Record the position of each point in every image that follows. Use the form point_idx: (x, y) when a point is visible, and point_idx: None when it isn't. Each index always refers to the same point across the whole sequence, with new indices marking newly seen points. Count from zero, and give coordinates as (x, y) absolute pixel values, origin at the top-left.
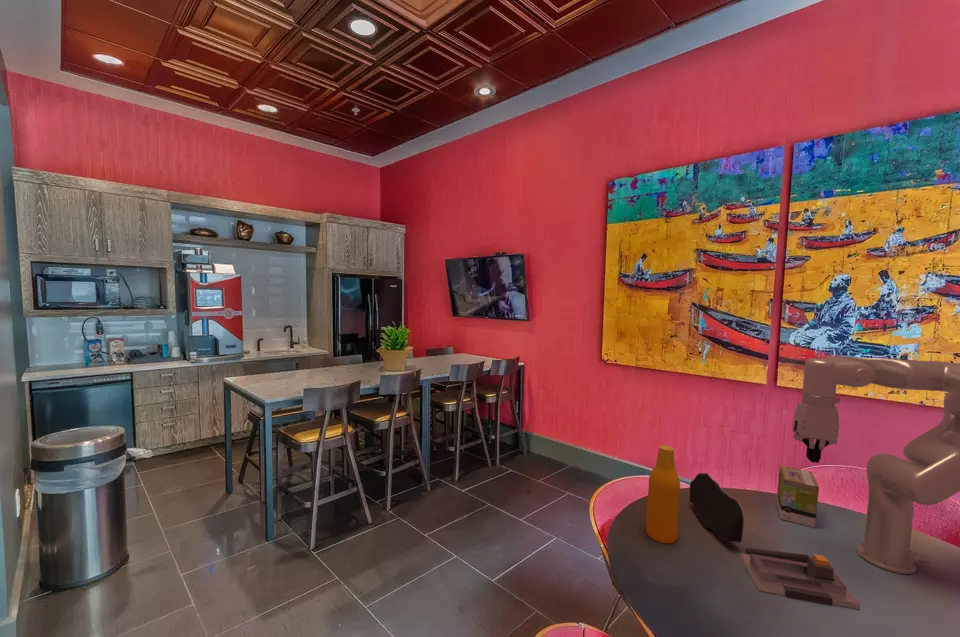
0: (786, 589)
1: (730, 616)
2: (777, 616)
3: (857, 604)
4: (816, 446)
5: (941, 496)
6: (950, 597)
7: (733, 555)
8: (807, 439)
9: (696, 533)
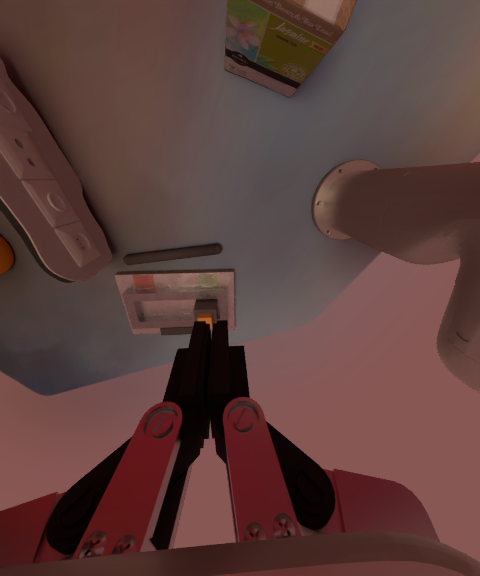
0: (161, 334)
1: (105, 369)
2: (148, 357)
3: (232, 329)
4: (218, 449)
5: None
6: (360, 272)
7: (108, 268)
8: (134, 501)
9: None
